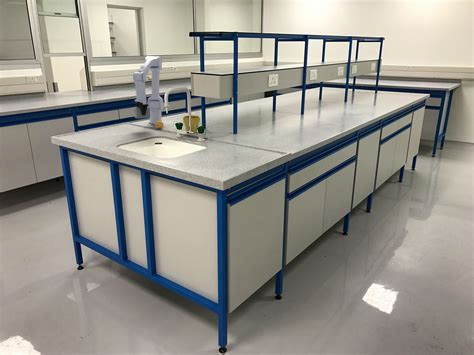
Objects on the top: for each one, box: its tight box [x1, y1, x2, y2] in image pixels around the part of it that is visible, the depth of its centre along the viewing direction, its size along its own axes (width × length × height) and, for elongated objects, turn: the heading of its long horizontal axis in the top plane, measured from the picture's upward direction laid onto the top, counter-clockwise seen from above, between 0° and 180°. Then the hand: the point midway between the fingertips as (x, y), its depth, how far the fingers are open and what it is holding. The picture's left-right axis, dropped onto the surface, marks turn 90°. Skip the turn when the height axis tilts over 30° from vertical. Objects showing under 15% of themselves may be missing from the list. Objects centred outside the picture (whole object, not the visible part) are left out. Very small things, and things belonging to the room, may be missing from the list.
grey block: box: [133, 106, 150, 119], centre depth 234 cm, size 6×8×6 cm
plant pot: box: [182, 114, 201, 133], centre depth 231 cm, size 10×10×10 cm
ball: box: [154, 120, 164, 129], centre depth 242 cm, size 5×5×5 cm
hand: (142, 114), depth 234 cm, fingers closed on grey block, 6 cm apart
